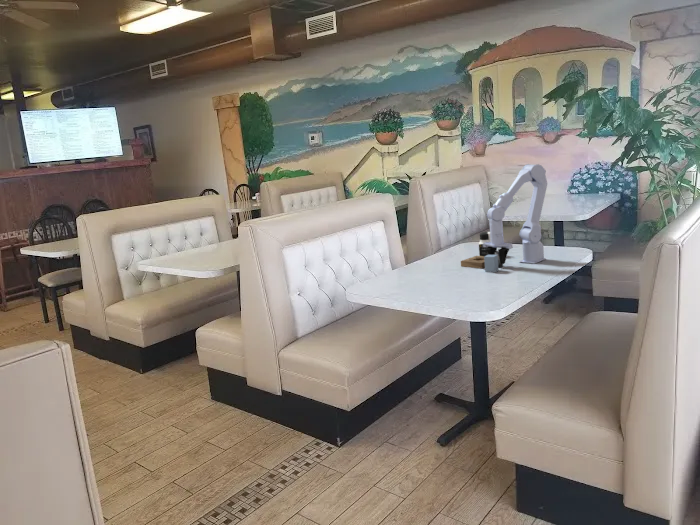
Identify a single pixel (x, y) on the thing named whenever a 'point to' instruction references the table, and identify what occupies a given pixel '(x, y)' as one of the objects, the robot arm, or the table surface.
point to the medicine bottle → (484, 238)
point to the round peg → (498, 259)
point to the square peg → (491, 263)
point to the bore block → (474, 262)
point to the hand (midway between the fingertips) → (498, 263)
